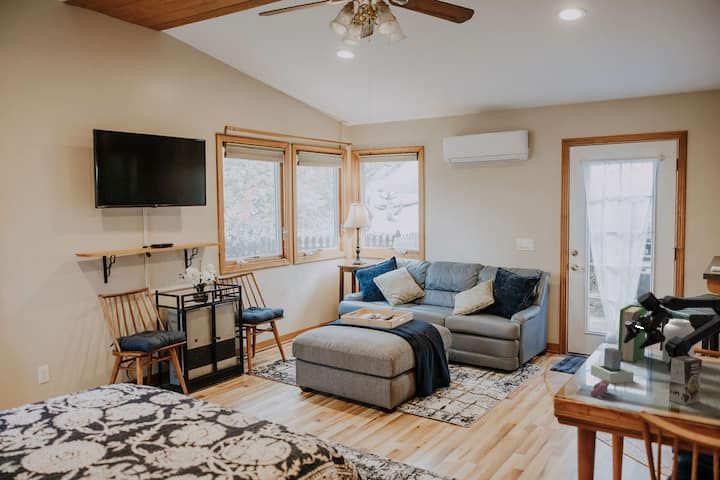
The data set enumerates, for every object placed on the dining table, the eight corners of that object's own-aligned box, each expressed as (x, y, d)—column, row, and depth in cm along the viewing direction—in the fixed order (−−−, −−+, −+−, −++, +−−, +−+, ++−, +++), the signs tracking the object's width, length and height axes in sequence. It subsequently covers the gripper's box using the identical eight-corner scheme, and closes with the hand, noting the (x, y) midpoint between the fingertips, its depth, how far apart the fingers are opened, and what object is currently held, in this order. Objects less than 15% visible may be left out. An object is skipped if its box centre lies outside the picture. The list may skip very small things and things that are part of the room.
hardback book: (634, 363, 252) (637, 311, 250) (617, 360, 256) (620, 309, 255) (644, 355, 265) (647, 306, 263) (627, 353, 270) (630, 304, 268)
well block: (613, 372, 237) (613, 363, 237) (633, 381, 226) (633, 372, 225) (590, 374, 235) (591, 365, 234) (609, 383, 223) (610, 373, 223)
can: (660, 363, 253) (662, 320, 251) (663, 357, 263) (665, 315, 262) (692, 368, 246) (694, 324, 244) (694, 361, 256) (696, 319, 255)
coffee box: (685, 405, 199) (687, 362, 198) (668, 400, 205) (670, 357, 204) (700, 401, 204) (703, 359, 202) (683, 396, 209) (685, 354, 208)
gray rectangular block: (613, 375, 233) (614, 347, 232) (621, 379, 228) (622, 351, 227) (603, 376, 232) (604, 348, 231) (611, 380, 227) (612, 351, 226)
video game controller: (600, 402, 206) (610, 387, 204) (589, 395, 208) (598, 380, 206) (603, 394, 214) (613, 380, 212) (592, 387, 216) (602, 373, 214)
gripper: (629, 302, 243) (606, 327, 242) (661, 310, 225) (636, 338, 223) (643, 319, 246) (620, 344, 244) (676, 328, 227) (652, 356, 226)
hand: (631, 345), depth 234 cm, fingers open, 9 cm apart
